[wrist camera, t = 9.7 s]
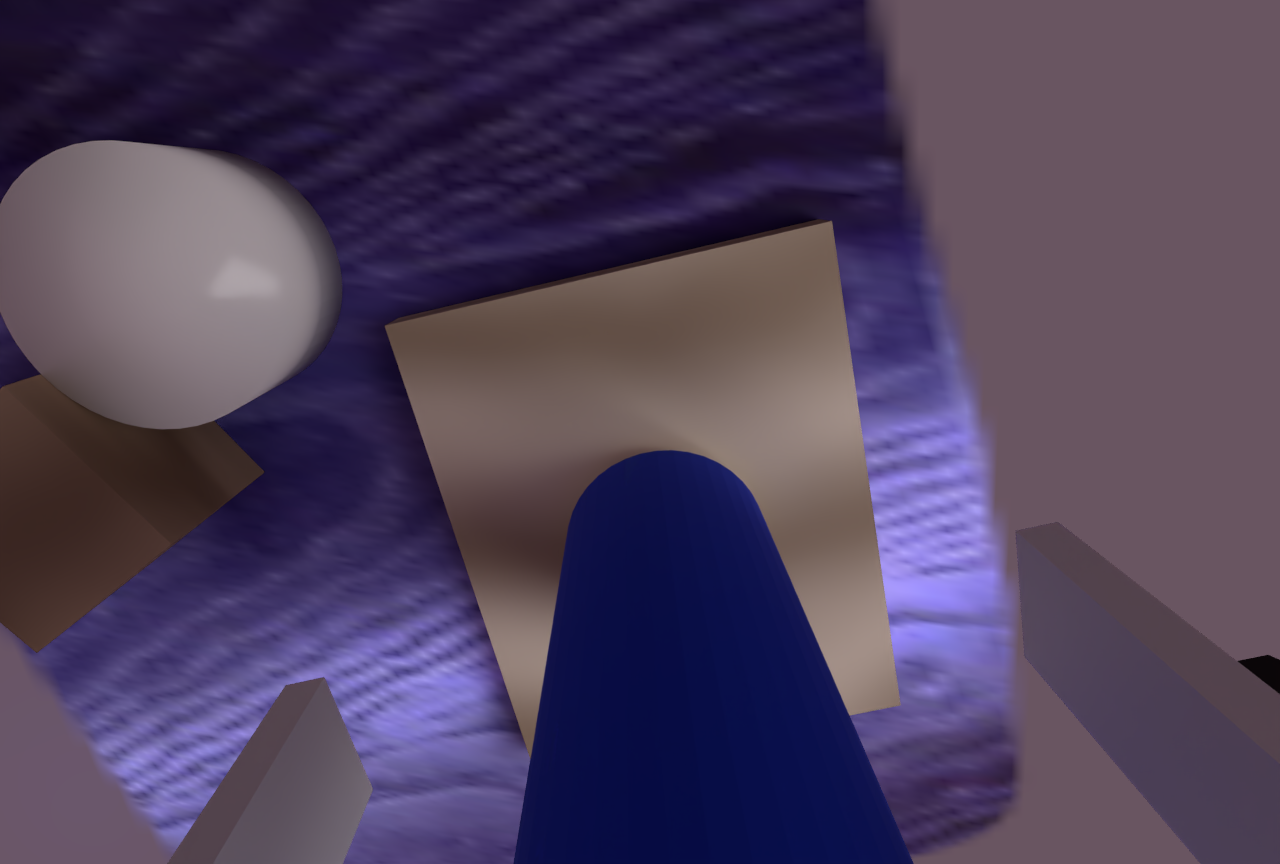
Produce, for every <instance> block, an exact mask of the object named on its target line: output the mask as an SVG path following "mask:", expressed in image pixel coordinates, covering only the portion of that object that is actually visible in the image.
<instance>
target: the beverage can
mask: <svg viewBox="0 0 1280 864" xmlns="http://www.w3.org/2000/svg"><path fill="white" fill-rule="evenodd" d="M514 864H913V861H912V859H911V857H910V854H909V852H908V850H907V847H906V845H905V843H904V841H903V838H902V836H901V834H900V831H899V829H898V827H897V824H896V822H895V820H894V817H893V815H892V813H891V810H890V808H889V806H888V804H887V801H886V799H885V797H884V794H883V792H882V790H881V787H880V785H879V783H878V780H877V778H876V776H875V773H874V771H873V769H872V767H871V764H870V762H869V760H868V757H867V755H866V753H865V750H864V748H863V746H862V743H861V741H860V739H859V737H858V734H857V732H856V730H855V727H854V725H853V723H852V720H851V718H850V716H849V713H848V711H847V709H846V706H845V704H844V702H843V700H842V697H841V695H840V693H839V690H838V688H837V686H836V683H835V681H834V679H833V676H832V674H831V672H830V669H829V667H828V665H827V663H826V660H825V658H824V656H823V653H822V651H821V649H820V646H819V644H818V642H817V639H816V637H815V635H814V632H813V630H812V628H811V626H810V623H809V621H808V619H807V616H806V614H805V612H804V609H803V607H802V605H801V602H800V600H799V598H798V595H797V593H796V591H795V589H794V586H793V584H792V582H791V579H790V577H789V575H788V572H787V570H786V568H785V565H784V563H783V561H782V559H781V556H780V554H779V552H778V549H777V547H776V545H775V542H774V540H773V538H772V535H771V533H770V531H769V528H768V526H767V524H766V522H765V519H764V517H763V515H762V512H761V510H760V508H759V505H758V504H757V502H756V500H755V498H754V496H753V494H752V493H751V491H750V490H749V489H748V488H747V486H746V485H745V484H744V482H743V481H742V480H741V479H740V478H738V477H737V476H736V475H735V474H734V473H733V472H732V471H731V470H729V469H727V468H726V467H724V466H723V465H721V464H720V463H718V462H716V461H714V460H711V459H709V458H707V457H705V456H701V455H698V454H694V453H690V452H684V451H676V450H663V451H652V452H647V453H641V454H638V455H635V456H632V457H629V458H626V459H624V460H622V461H620V462H618V463H616V464H614V465H613V466H611V467H609V468H608V469H607V470H605V471H604V472H603V473H601V474H600V475H598V476H597V478H596V479H595V480H594V481H593V482H592V483H591V484H590V485H589V486H588V487H587V488H586V489H585V491H584V492H583V494H582V495H581V496H580V498H579V500H578V502H577V504H576V506H575V508H574V510H573V512H572V515H571V519H570V522H569V525H568V531H567V537H566V543H565V550H564V556H563V562H562V568H561V574H560V580H559V587H558V593H557V599H556V605H555V611H554V617H553V624H552V630H551V636H550V642H549V648H548V654H547V661H546V667H545V673H544V679H543V685H542V691H541V698H540V704H539V710H538V716H537V722H536V728H535V735H534V741H533V747H532V753H531V759H530V765H529V772H528V778H527V784H526V790H525V796H524V802H523V809H522V815H521V821H520V827H519V833H518V839H517V846H516V852H515V858H514Z"/></svg>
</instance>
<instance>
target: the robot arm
mask: <svg viewBox="0 0 1280 864" xmlns="http://www.w3.org/2000/svg"><path fill="white" fill-rule="evenodd" d="M1016 544H1017V558H1018V572H1019V586H1020V600H1021V613H1022V628H1023V641H1024V656H1025V658H1026V659H1027V660H1028V661H1029V663H1030V664H1031V665H1032V666H1033V667H1034V668H1035V670H1036V671H1037V672H1038V673H1039V674H1040V675H1041V677H1042V678H1043V679H1044V680H1045V681H1046V682H1047V684H1049V686H1050V687H1051V688H1052V690H1053V691H1054V692H1055V693H1056V694H1057V695H1058V697H1059V698H1060V699H1061V700H1062V701H1063V702H1064V704H1065V705H1066V706H1067V707H1068V708H1069V710H1071V712H1072V713H1073V714H1074V715H1075V716H1076V718H1077V719H1078V720H1079V721H1080V722H1081V723H1082V725H1083V726H1084V727H1085V728H1086V729H1087V731H1088V732H1089V733H1090V734H1091V735H1092V736H1093V738H1094V739H1095V740H1096V741H1097V742H1098V744H1099V745H1100V746H1101V747H1102V748H1103V749H1104V751H1105V752H1106V753H1107V754H1108V755H1109V756H1110V758H1111V759H1112V760H1113V761H1114V762H1115V764H1116V765H1117V766H1118V767H1119V768H1120V769H1121V771H1122V772H1123V773H1124V774H1125V775H1126V777H1127V778H1128V779H1129V780H1130V781H1131V782H1132V784H1133V785H1134V786H1135V787H1136V788H1137V789H1138V791H1139V792H1140V793H1141V794H1142V795H1143V796H1144V798H1145V799H1146V800H1147V801H1148V802H1149V804H1150V805H1151V806H1152V807H1153V808H1154V809H1155V811H1156V812H1157V813H1158V814H1159V815H1160V816H1161V818H1162V819H1163V820H1164V821H1165V822H1166V823H1167V825H1168V826H1169V827H1170V828H1171V829H1172V831H1173V832H1174V833H1175V834H1176V835H1177V836H1178V838H1179V839H1180V840H1181V841H1182V842H1183V843H1184V845H1185V846H1186V847H1187V848H1188V849H1189V851H1190V852H1191V853H1192V854H1193V855H1194V856H1195V858H1196V859H1197V860H1198V861H1199V862H1200V863H1201V864H1280V660H1279V659H1276V658H1274V657H1272V656H1270V655H1265V656H1260V657H1255V658H1250V659H1246V660H1240V661H1236V660H1235V659H1234V658H1232V657H1231V656H1229V654H1227V653H1226V652H1224V651H1223V650H1222V649H1221V648H1220V647H1218V646H1217V645H1216V644H1214V643H1213V642H1212V641H1211V640H1209V639H1208V638H1207V637H1205V636H1204V635H1203V634H1202V633H1200V632H1199V631H1198V630H1196V629H1195V628H1194V627H1193V626H1191V625H1190V624H1189V623H1187V622H1186V621H1185V620H1184V619H1182V618H1181V617H1180V616H1178V615H1177V614H1176V613H1175V612H1173V611H1172V610H1171V609H1169V608H1168V607H1167V606H1166V605H1164V604H1163V603H1161V602H1160V601H1159V600H1158V599H1157V598H1155V597H1154V596H1153V595H1151V594H1150V593H1149V592H1147V591H1146V590H1145V589H1144V588H1142V587H1141V586H1140V585H1138V584H1137V583H1136V582H1135V581H1133V580H1132V579H1131V578H1130V577H1128V576H1127V575H1126V574H1124V573H1123V572H1122V571H1120V570H1119V569H1118V568H1117V567H1115V566H1114V565H1113V564H1112V563H1110V562H1109V561H1108V560H1106V559H1105V558H1104V557H1102V556H1101V555H1100V554H1099V553H1097V552H1096V551H1095V550H1093V549H1092V548H1091V547H1090V546H1088V545H1087V544H1086V543H1084V542H1083V541H1082V540H1081V539H1079V538H1078V537H1077V536H1075V535H1074V534H1073V533H1072V532H1070V531H1069V530H1068V529H1067V528H1065V527H1064V526H1063V525H1061V524H1060V523H1059V522H1055V523H1050V524H1046V525H1040V526H1036V527H1031V528H1026V529H1021V530H1017V531H1016ZM372 790H373V788H372V786H371V784H370V781H369V779H368V777H367V775H366V772H365V770H364V768H363V765H362V763H361V761H360V758H359V756H358V754H357V751H356V749H355V747H354V745H353V742H352V740H351V738H350V735H349V733H348V731H347V728H346V726H345V724H344V722H343V719H342V717H341V715H340V712H339V710H338V708H337V705H336V703H335V701H334V698H333V696H332V694H331V692H330V689H329V687H328V685H327V682H326V680H325V678H324V677H323V678H318V679H314V680H309V681H304V682H299V683H295V684H290V685H286V686H285V687H284V689H283V690H282V692H281V693H280V695H279V696H278V698H277V699H276V701H275V702H274V704H273V705H272V707H271V708H270V710H269V711H268V713H267V714H266V716H265V717H264V719H263V720H262V722H261V723H260V725H259V727H258V728H257V730H256V731H255V733H254V734H253V736H252V737H251V739H250V740H249V742H248V743H247V745H246V746H245V748H244V749H243V751H242V752H241V754H240V755H239V757H238V758H237V760H236V761H235V763H234V764H233V766H232V767H231V769H230V770H229V772H228V773H227V775H226V776H225V778H224V779H223V781H222V782H221V784H220V785H219V787H218V788H217V790H216V791H215V793H214V794H213V796H212V797H211V799H210V800H209V802H208V803H207V805H206V806H205V808H204V809H203V811H202V812H201V814H200V815H199V817H198V818H197V820H196V821H195V823H194V824H193V826H192V827H191V829H190V830H189V832H188V833H187V835H186V836H185V838H184V839H183V841H182V842H181V844H180V845H179V847H178V848H177V850H176V851H175V853H174V854H173V856H172V857H171V859H170V860H169V862H168V863H167V864H343V862H344V859H345V857H346V854H347V852H348V849H349V847H350V845H351V842H352V840H353V837H354V835H355V832H356V830H357V827H358V825H359V822H360V820H361V818H362V815H363V813H364V810H365V808H366V805H367V803H368V800H369V798H370V795H371V793H372Z"/></svg>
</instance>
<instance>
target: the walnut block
mask: <svg viewBox="0 0 1280 864" xmlns="http://www.w3.org/2000/svg"><path fill="white" fill-rule="evenodd" d="M263 473H264V471H263V470H262V469H261V468H260V467H259V466H258V465H257V464H256V463H255V462H254V461H253V460H252V459H251V458H250V457H249V456H248V455H247V454H246V453H245V452H244V451H243V450H242V449H241V448H240V447H239V446H238V445H237V443H236V442H235V441H234V440H233V439H232V438H231V437H230V436H229V435H228V434H227V433H226V432H225V431H224V430H223V429H222V428H221V427H220V426H219V425H218V424H217V423H216V422H215V421H211V422H208V423H205V424H201V425H198V426H193V427H187V428H181V429H153V428H143V427H138V426H133V425H128V424H124V423H121V422H118V421H115V420H112V419H109V418H106V417H104V416H102V415H100V414H97V413H95V412H93V411H91V410H89V409H87V408H85V407H84V406H82V405H80V404H79V403H77V402H75V401H73V400H72V399H71V398H69V397H68V396H66V395H65V394H64V393H62V392H61V391H60V390H58V389H57V388H56V387H55V386H54V385H52V384H51V383H50V382H49V381H48V380H47V379H46V378H45V377H44V376H42V375H41V374H40V375H37V376H34V377H31V378H28V379H24V380H21V381H18V382H15V383H12V384H8V385H5V386H3V387H2V388H1V389H0V623H2V624H3V625H4V626H5V627H6V628H8V629H9V630H10V631H11V632H12V633H14V634H15V635H16V636H17V637H18V638H20V639H21V640H22V641H23V642H24V643H25V644H27V645H28V646H29V647H30V648H31V649H33V650H34V651H35V652H36V653H37V652H39V651H40V650H41V649H42V648H44V647H45V646H46V645H47V644H49V643H50V642H51V641H53V640H54V639H55V638H56V637H58V636H59V635H60V634H61V633H63V632H64V631H65V630H67V629H68V628H69V627H70V626H72V625H73V624H74V623H75V622H77V621H78V620H79V619H81V618H82V617H83V616H84V615H86V614H87V613H88V612H89V611H91V610H92V609H93V608H95V607H96V606H97V605H98V604H100V603H101V602H102V601H103V600H105V599H106V598H107V597H109V596H110V595H111V594H112V593H114V592H115V591H116V590H117V589H119V588H120V587H121V586H123V585H124V584H125V583H126V582H128V581H129V580H130V579H131V578H133V577H134V576H135V575H137V574H138V573H139V572H140V571H142V570H143V569H144V568H145V567H147V566H148V565H149V564H151V563H152V562H153V561H154V560H156V559H157V558H158V557H159V556H161V555H162V554H163V553H164V552H166V551H167V550H168V549H169V548H171V547H172V546H173V545H174V544H176V543H177V542H178V541H179V540H181V539H182V538H183V537H184V536H186V535H187V534H188V533H189V532H191V531H192V530H193V529H194V528H196V527H197V526H198V525H199V524H201V523H202V522H203V521H204V520H206V519H207V518H208V517H209V516H211V515H212V514H213V513H214V512H216V511H217V510H218V509H219V508H221V507H222V506H223V505H224V504H226V503H227V502H228V501H229V500H231V499H232V498H233V497H234V496H236V495H237V494H238V493H239V492H241V491H242V490H243V489H244V488H246V487H247V486H248V485H249V484H251V483H252V482H253V481H254V480H256V479H257V478H258V477H259V476H261V475H262V474H263Z"/></svg>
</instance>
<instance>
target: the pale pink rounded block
mask: <svg viewBox="0 0 1280 864" xmlns="http://www.w3.org/2000/svg"><path fill="white" fill-rule="evenodd" d="M341 302H342V276H341V270H340V263H339V260H338V256H337V253H336V249H335V247H334V244H333V242H332V239H331V237H330V235H329V232H328V231H327V229H326V227H325V225H324V223H323V222H322V220H321V218H320V217H319V215H318V214H317V213H316V211H315V210H314V208H313V207H312V206H311V204H310V203H309V202H308V201H307V200H306V199H305V198H304V197H303V195H302V194H301V193H300V192H299V191H298V190H297V189H296V188H294V187H293V186H292V185H291V184H290V183H289V182H288V181H286V180H285V179H284V178H282V177H281V176H279V175H278V174H277V173H275V172H274V171H272V170H271V169H269V168H267V167H265V166H263V165H261V164H259V163H257V162H255V161H253V160H251V159H248V158H245V157H243V156H240V155H237V154H232V153H228V152H224V151H218V150H208V149H198V148H187V147H177V146H166V145H156V144H146V143H135V142H125V141H114V140H108V141H90V142H84V143H78V144H73V145H70V146H67V147H64V148H61V149H59V150H56V151H54V152H52V153H50V154H48V155H46V156H44V157H42V158H41V159H39V160H38V161H36V162H35V163H34V164H32V165H31V166H30V167H28V168H27V169H26V170H25V171H24V172H23V173H22V174H21V175H20V176H19V177H18V178H17V179H16V180H15V181H14V183H13V184H12V185H11V187H10V188H9V190H8V191H7V193H6V194H5V196H4V197H3V199H2V202H1V204H0V313H1V315H2V317H3V320H4V322H5V324H6V326H7V328H8V330H9V332H10V333H11V335H12V337H13V339H14V340H15V342H16V344H17V345H18V347H19V348H20V349H21V351H22V352H23V353H24V355H25V356H26V358H27V359H28V360H29V361H30V362H31V364H32V365H33V366H34V367H35V368H36V369H37V370H38V371H39V372H40V374H41V375H42V376H44V377H45V378H46V379H47V380H48V381H49V382H50V383H51V384H52V385H54V386H55V387H56V388H57V389H58V390H60V391H61V392H62V393H64V394H65V395H66V396H68V397H69V398H71V399H72V400H73V401H75V402H77V403H79V404H80V405H82V406H84V407H85V408H87V409H89V410H91V411H93V412H95V413H97V414H100V415H102V416H104V417H106V418H109V419H112V420H115V421H118V422H121V423H124V424H128V425H133V426H138V427H143V428H153V429H181V428H187V427H193V426H198V425H201V424H205V423H208V422H211V421H214V420H216V419H218V418H220V417H223V416H225V415H227V414H229V413H231V412H232V411H234V410H236V409H238V408H239V407H241V406H243V405H245V404H247V403H248V402H250V401H252V400H254V399H255V398H257V397H259V396H261V395H263V394H264V393H266V392H268V391H270V390H271V389H273V388H275V387H277V386H278V385H280V384H282V383H284V382H286V381H287V380H289V379H291V378H293V377H294V376H296V375H297V374H299V373H300V372H302V371H303V370H305V369H306V368H307V367H308V366H309V365H310V364H312V363H313V362H314V361H315V360H316V359H317V358H318V356H319V355H320V354H321V353H322V351H323V350H324V349H325V347H326V346H327V344H328V342H329V341H330V339H331V337H332V335H333V332H334V330H335V328H336V325H337V322H338V318H339V314H340V310H341Z"/></svg>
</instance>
